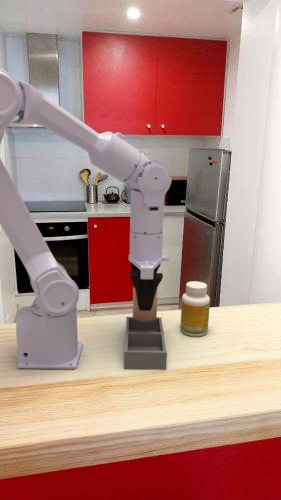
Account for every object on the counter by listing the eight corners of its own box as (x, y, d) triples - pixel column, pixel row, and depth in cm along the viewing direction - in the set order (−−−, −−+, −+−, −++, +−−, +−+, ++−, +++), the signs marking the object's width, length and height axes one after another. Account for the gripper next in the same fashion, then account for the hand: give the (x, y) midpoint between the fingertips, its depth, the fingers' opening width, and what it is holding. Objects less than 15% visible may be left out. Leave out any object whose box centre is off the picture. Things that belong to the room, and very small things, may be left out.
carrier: (124, 368, 58) (124, 352, 57) (126, 330, 71) (126, 316, 70) (166, 369, 58) (166, 352, 57) (160, 331, 71) (161, 317, 70)
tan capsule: (132, 321, 64) (133, 283, 62) (132, 311, 68) (133, 275, 67) (157, 321, 64) (158, 283, 62) (156, 311, 69) (157, 275, 67)
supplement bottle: (207, 338, 68) (210, 290, 66) (178, 335, 69) (181, 288, 67) (208, 326, 73) (211, 281, 71) (181, 323, 74) (183, 278, 72)
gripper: (173, 240, 55) (170, 322, 59) (166, 223, 69) (163, 290, 73) (127, 240, 55) (127, 321, 59) (129, 223, 69) (128, 289, 73)
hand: (144, 304), depth 66 cm, fingers closed on tan capsule, 4 cm apart
